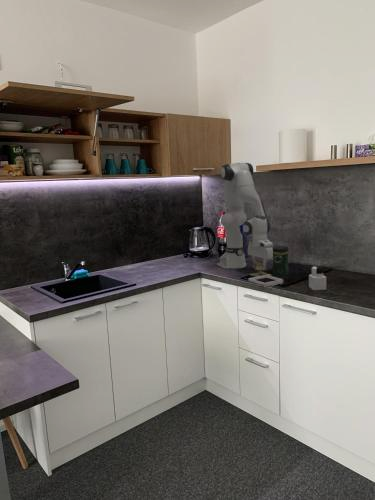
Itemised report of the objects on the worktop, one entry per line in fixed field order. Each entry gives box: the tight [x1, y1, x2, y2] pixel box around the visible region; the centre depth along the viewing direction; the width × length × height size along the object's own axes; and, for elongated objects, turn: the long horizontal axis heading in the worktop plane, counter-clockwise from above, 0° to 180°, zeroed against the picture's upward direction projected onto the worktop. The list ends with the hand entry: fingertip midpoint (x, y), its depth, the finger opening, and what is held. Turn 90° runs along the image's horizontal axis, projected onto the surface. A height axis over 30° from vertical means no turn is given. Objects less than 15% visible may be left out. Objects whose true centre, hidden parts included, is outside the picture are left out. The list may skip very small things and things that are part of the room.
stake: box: [249, 270, 272, 277], centre depth 241 cm, size 10×10×6 cm
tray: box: [247, 275, 284, 288], centre depth 225 cm, size 15×14×2 cm
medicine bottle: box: [308, 265, 327, 291], centre depth 209 cm, size 7×7×12 cm
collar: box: [252, 259, 267, 271], centre depth 240 cm, size 7×8×5 cm
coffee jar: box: [272, 245, 290, 276], centre depth 241 cm, size 10×8×19 cm
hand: (259, 264), depth 240 cm, fingers closed on collar, 7 cm apart
